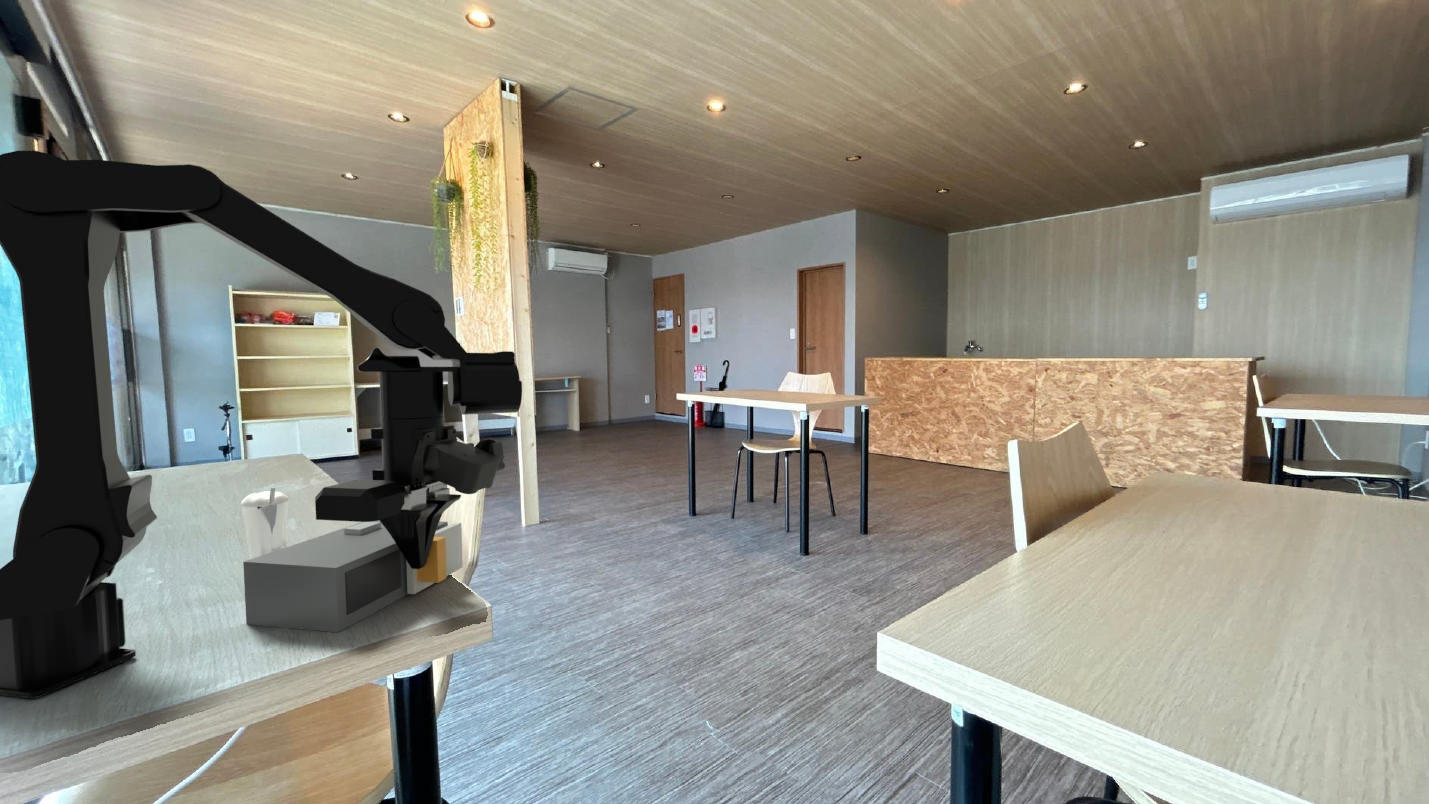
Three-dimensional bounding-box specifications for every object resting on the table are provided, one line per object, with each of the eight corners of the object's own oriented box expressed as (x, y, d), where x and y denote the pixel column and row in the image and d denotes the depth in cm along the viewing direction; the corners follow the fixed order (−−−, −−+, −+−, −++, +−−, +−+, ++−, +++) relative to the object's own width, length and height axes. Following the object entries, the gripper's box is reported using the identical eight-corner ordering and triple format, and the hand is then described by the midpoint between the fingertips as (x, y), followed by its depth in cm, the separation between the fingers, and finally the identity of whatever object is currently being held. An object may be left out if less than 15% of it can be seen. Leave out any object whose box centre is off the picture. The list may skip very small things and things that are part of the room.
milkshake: (252, 576, 66) (248, 491, 66) (239, 566, 70) (235, 485, 69) (298, 565, 70) (295, 485, 69) (284, 557, 73) (280, 480, 73)
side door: (435, 595, 60) (433, 542, 59) (407, 593, 60) (405, 540, 60) (481, 568, 68) (480, 521, 68) (456, 566, 68) (455, 520, 68)
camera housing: (339, 632, 52) (336, 561, 52) (246, 624, 54) (243, 555, 53) (456, 568, 69) (454, 514, 69) (382, 563, 71) (380, 510, 70)
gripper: (421, 426, 47) (427, 610, 48) (531, 411, 66) (534, 544, 66) (306, 425, 49) (313, 602, 50) (444, 410, 68) (448, 540, 68)
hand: (418, 567), depth 59 cm, fingers closed
